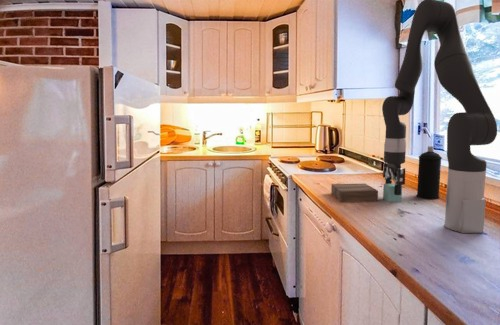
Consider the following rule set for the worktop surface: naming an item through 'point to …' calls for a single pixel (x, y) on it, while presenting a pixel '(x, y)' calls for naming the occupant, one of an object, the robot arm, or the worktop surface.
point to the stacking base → (354, 192)
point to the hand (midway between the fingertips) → (392, 192)
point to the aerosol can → (429, 175)
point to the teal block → (391, 193)
